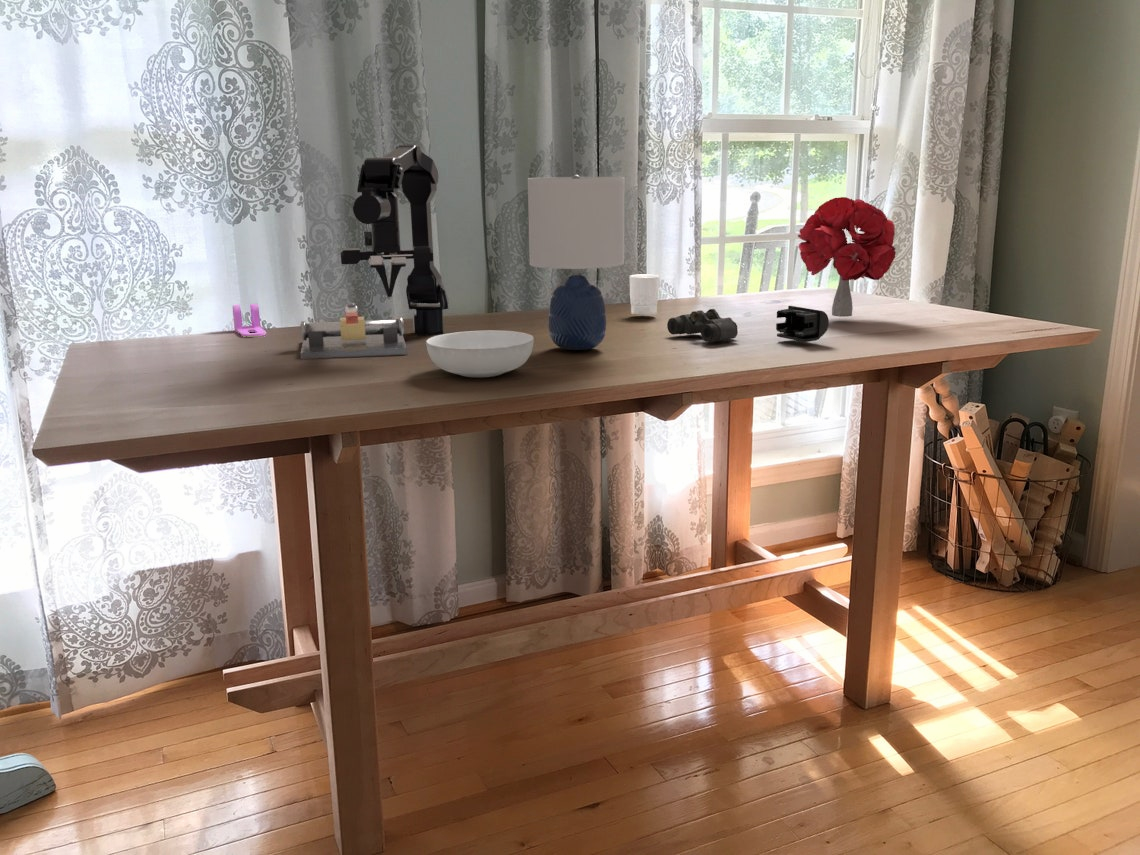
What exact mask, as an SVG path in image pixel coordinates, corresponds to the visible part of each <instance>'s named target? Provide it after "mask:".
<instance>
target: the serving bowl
mask: <svg viewBox="0 0 1140 855" xmlns="http://www.w3.org/2000/svg"><path fill="white" fill-rule="evenodd" d="M534 342H535V337H534V336H533V335H532V334H530V333H527V332H526V333H525V332H521V331H513V330H499V329H497V330H488V329H487V330H486V329H485V330H470V331H469V330H468V331H467V330H466V331H457V332H450V333H445V334H443V335H433V336H431V337H429V338H428V339H426V340H425V346H426V348H427V353H428V356H429V357H430V359H431V362H433V363H434V365H436V366H437V367H438V368H440V369H441V370H443V371H444V372H448V373H451V374H454V375H459V376H461V377H465V378H490V377H491V378H493V377H496V376H501V375H503V374H505V373H509V372H511V371H513V370H517V369H519V367H521V366H523V365H524V364H525V363H527V361H528V359H529V358H530V356H531V354H532V353H533V349H534Z"/></svg>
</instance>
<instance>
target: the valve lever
mask: <svg viewBox="0 0 1140 855" xmlns="http://www.w3.org/2000/svg"><path fill="white" fill-rule="evenodd" d="M344 309H345V311H344V312H345V317H346V324H355V323H358V317H359V315H358V312H359V311H358V310H359V309H358V305H356V303H355V302H350V303H346V305H345V307H344Z"/></svg>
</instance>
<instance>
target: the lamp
mask: <svg viewBox="0 0 1140 855" xmlns="http://www.w3.org/2000/svg"><path fill="white" fill-rule="evenodd" d="M527 201H528V202H527V203H528V206H527V207H528V209H527V210H528V241H529V242H528V247H529V248H528V252H529V254H528V256H529V266H531V267H533V268H535V267H536V268H540V269H541V268H543V269H553V270H555V269H557V270H571V273H570V275H567V278H566V280H565V282H564V283H563V284H560V285H559V286H558V287H556V288H555V289H554V290H553V292H552V295H551V298H550V300H549V308H548V318H547V319H548V320H547V321H548V322H547V323H548V326H547V327H548V332H549V337H550V339H551V341H552V342H553V343H554V344H555V346H557V347H558V348H559V349H563V350H568V351H572V350H573V351H575V350H576V351H581V350H582V351H586V350H591V349H594V348H596V347H598V346H600V344H602V342H603V340H604V338H605V337H606V332H607V314H606V306H605V305H606V304H605V299H604V296H603V294H602V291H601V290H600V289H599V288H598V287H597V286H596V285H593V284H591V283H590V282H589V280H588V278H587V276H586V275H585V274H583V271H582V270H585V269H587V270H589V269H591V270H593V269H606V268H614V267H620V266H623V265H624V264H625V176H579V175H578V174H574V175H573V176H555V177H553V176H551V177H548V176H547V177H528V178H527Z"/></svg>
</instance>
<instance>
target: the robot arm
mask: <svg viewBox="0 0 1140 855" xmlns="http://www.w3.org/2000/svg"><path fill="white" fill-rule="evenodd" d="M358 177H359V179H358V184H357V190H356V191H357V193H359V194H360V193H361V195H359V196H358V197H357V198H356V199H355V201H354V203H353V206H352V211H353V212H352V213H353V215H354V216H355V218H356V220H358V221H359V222H360V223H362V224H366V225H370V227H371V228H370V229H371V230H370V231H364V232H363V236H364V237H363V238H364V239H363V240H364V248H365V249H371V250H370V251H369V250H368V251H365V250H364V251H361V248H360V247H350V248H349V247H347V248H345V247H344V248H342V249H341V250H340V262H341V265H358V264H359V262H360V261H368V263H369V268H373V269H375V270H376V272H377V274H378V276H379V278H380V280H381V283H382V286H383V288H384V291H385V294H386V296H387V298H392V296H393V293H394V289H395V285H396V281H397V279H398V275H399V273H400V271H401V268H402V267H404V268H405V267H406V266H407V263H406V261H407V260H409V259H413V268H412V270H411V272H410V273H409V274H408V276H407V278H406V280H407V282H406V283H407V284H406V289H405V290H406V292H405V293H406V300H407V304H408V310H410V311H411V310H415V313H414V314H412V319H413V320H412V321H413V331H414V334H416V333H417V334H416V335H418V336H417V337H419V336H420V337H421V336H438V335H443V334H446V333H445V331H444V319H443V318H444V317H443V313H444V312H443V310H448V309H449V307H450V306H449V297H448V294H447V291H446V288H445V285H444V284H443V282H442V275H441V274H440V272H439V271H438V268H437V267H436V266H435V264H434V263H435V262H434V245H433V244H434V243H433V227H432V211H431V210H432V209H431V208H432V206H431V201H432V200H433V198H434V197H435V194H436V192H437V188H438V187H437V186H438V182H439V171H438V167H437V166H436V164H435V161H434V160H433V158H431V157H430V156H428V155H427V154H425V153H424V152H423V151H422V149H421V147H420V146H419V145H416V144H399V145H398V146H395V149H393V150H392V151H390V152H388V153H387V154H386V155H384V156H382V157H381V156H380V157H366V158H365V159H364V161H363V163H362V165H361V167H360V174H359V176H358ZM399 189H401V192H402V193H403V195H404V196H405V198H406V199H407V201H408V203H409V207H410V208H409V209H410V220H411V225H410V226H411V237H412V238H411V239H412V240H411V241H412V245H411V246H412V249H402V248H401V232H400V215H399V199H398V197H399V193H398V191H399ZM384 260H391V261H390V266H389V267H390V268H389V269H390V272H389V282H388V276H387V271H386V266H385V263H384Z"/></svg>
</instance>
